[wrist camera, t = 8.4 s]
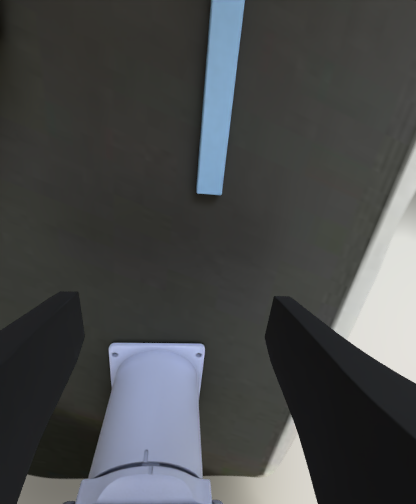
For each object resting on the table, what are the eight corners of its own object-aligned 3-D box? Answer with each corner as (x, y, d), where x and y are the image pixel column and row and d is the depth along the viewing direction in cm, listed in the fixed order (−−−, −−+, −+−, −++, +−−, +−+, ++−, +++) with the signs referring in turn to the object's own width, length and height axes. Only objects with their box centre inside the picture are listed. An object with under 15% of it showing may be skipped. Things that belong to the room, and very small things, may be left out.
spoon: (242, 194, 18) (245, 198, 17) (172, 189, 17) (172, 192, 16) (308, -236, 10) (319, -270, 10) (191, -269, 10) (192, -308, 9)
